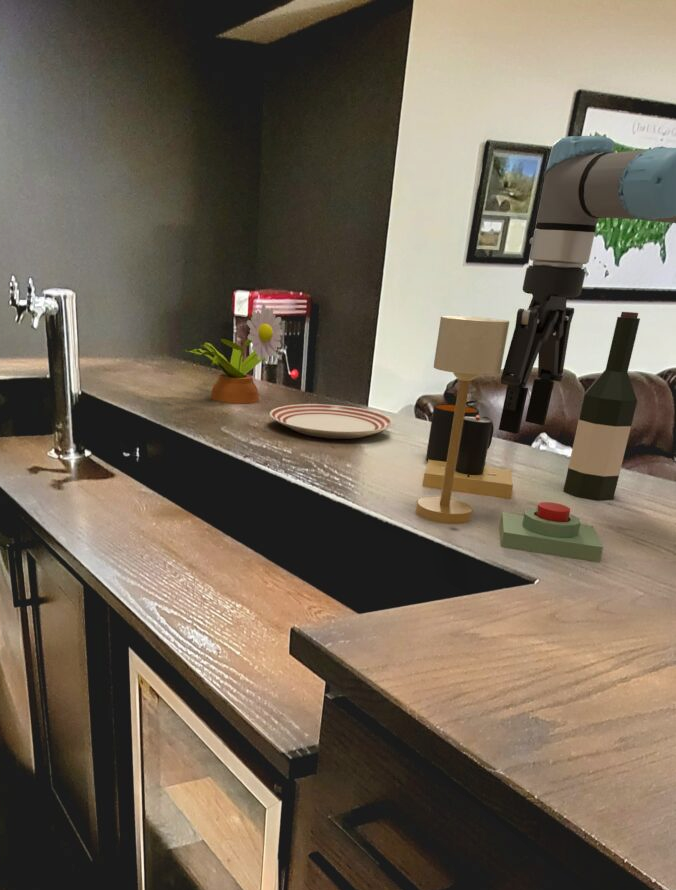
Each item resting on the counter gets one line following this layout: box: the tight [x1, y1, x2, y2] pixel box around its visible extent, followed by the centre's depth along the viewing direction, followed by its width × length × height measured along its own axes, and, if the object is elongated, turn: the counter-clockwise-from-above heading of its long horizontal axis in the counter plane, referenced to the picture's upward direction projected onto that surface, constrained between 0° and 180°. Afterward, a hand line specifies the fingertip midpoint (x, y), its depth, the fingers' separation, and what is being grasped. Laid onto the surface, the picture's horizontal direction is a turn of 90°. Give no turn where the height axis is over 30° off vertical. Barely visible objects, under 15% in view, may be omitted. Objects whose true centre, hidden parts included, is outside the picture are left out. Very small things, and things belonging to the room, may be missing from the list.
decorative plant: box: [184, 303, 284, 404], centre depth 190 cm, size 27×24×25 cm
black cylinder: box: [455, 414, 494, 475], centre depth 122 cm, size 5×5×9 cm
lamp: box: [415, 315, 510, 525], centre depth 103 cm, size 9×9×28 cm
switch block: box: [498, 507, 604, 563], centre depth 98 cm, size 12×9×4 cm
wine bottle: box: [563, 311, 641, 501], centre depth 119 cm, size 8×8×30 cm
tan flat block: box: [422, 460, 514, 500], centre depth 124 cm, size 14×10×3 cm
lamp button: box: [536, 501, 571, 522], centre depth 97 cm, size 4×4×2 cm
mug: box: [425, 403, 495, 462], centre depth 138 cm, size 8×12×10 cm
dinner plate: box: [268, 403, 395, 440], centre depth 161 cm, size 27×27×3 cm
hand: (522, 427), depth 107 cm, fingers open, 8 cm apart
